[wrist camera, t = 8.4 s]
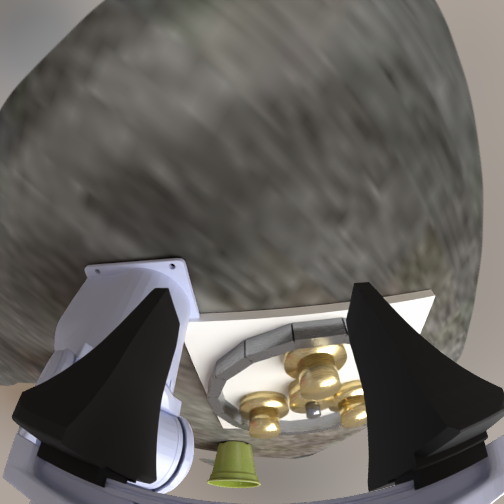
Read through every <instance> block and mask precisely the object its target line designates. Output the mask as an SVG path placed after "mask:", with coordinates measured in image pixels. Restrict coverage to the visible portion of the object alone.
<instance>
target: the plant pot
mask: <svg viewBox="0 0 504 504" xmlns="http://www.w3.org/2000/svg"><path fill="white" fill-rule="evenodd" d="M207 483H208V484H211V485H215V486H221V487H232V488H249V487H257V486H260V485H261V483H260V482H259V481H258V477H257V476H256V472H255V466H254V461H253V454H252V448H251V445H250V444H245V443H244V442H240V441H227V442H225V443H220V444H219V445H218V450H217V455H216V459H215V463H214V467H213V472H212V474H211V475H210V479H209V480H208V481H207Z"/></svg>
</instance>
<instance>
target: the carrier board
mask: <svg viewBox="0 0 504 504" xmlns="http://www.w3.org/2000/svg"><path fill="white" fill-rule="evenodd" d="M383 298H384V299H385V300H386V301H387V302H388V303H389V304H390V305H391V306H392V307H393V308H394V309H395V311H396V312H397V313H398V314H399V315H400V316H401V317H402V318H403V319H404V320H405V321H406V322H407V323H408V324H409V325H410V326H411V327H412V328H414V329H415V330H416V331H417V332H418V333H419V334H420V332H421V330H422V328H423V325H424V323H425V321H426V318H427V316H428V313H429V311H430V308H431V306H432V303H433V300H434V298H435V295H434V293H433V292H432V290H431V289H430V290H424V291H418V292H412V293H406V294H400V295H394V296H387V297H383ZM349 305H350V302H342V303H334V304H325V305H315V306H306V307H295V308H284V309H272V310H258V311H244V312H226V313H205V314H200V318H198V319H189V322H188V326H187V331H186V335H185V339H184V342H185V344H186V347H187V349H188V352H189V354H190V357H191V359H192V362H193V364H194V366H195V369H196V371H197V373H198V376H199V378H200V380H201V382H202V385H203V387H204V389H205V391H206V393H207V391H208V382H209V379H210V377H211V374H212V372H213V369H214V366H215V364H216V361H217V360H218V359H220V358H221V357H222V356H224V355H225V354H226V353H228V352H229V351H230V350H232V349H233V348H234V347H236V346H237V345H238V344H239V343H241V342H242V341H243V340H246V339H247V338H250V337H253V336H256V335H259V334H262V333H264V332H267V331H270V330H273V329H276V328H278V327H281V326H284V325H287V324H289V323H291V325H292V323H293V322H304V321H313V320H322V319H331V318H339V317H341V318H343V317H344V318H346V317H347V313H348V309H349ZM344 346H345V349H346V353H347V361H346V363H345V365H344V366H343V367H342V368H341V369H340V370H339V371H338V374H339V378H340V382H341V384H343V383H345V382H348V381H352V380H359V379H360V378H359V374H358V370H357V367H356V363H355V360H354V356H353V353H352V349H351V346H350V344H344ZM294 380H296V379H294V378H292V377H290V376H289V375H287V374H286V372H285V370H284V360H283V354H281V355H278V356H275V357H272V358H269V359H265V360H262V361H259V362H256V363H253V364H252V365H250V366H249V367H247V368H246V369H244V370H243V371H241V372H240V373H238V374H237V375H235V376H233V377H232V378H230V379H229V380H227V381H226V383H225V385H224V388H223V390H222V392H223V394H224V397H225V400H227V401H228V402H229V403H231V404H232V405H233V406H235V407H236V408H237V409H239V401H240V399H241V398H242V397H243V396H245V395H247V394H249V393H252V392H258V391H274V392H279V393H282V394H284V395H285V396H287V398H288V402H289V396H288V386H289V384H290V383H291V382H293V381H294ZM332 413H335V412H333V411H330V410H329V408H327V409H325V410H322V411H321V416H320V417H322V416H325V415H328V414H332ZM218 418H219V420H220V422H221V424H222V426H223V428H238V427H235V426H233V425H231V424H230V423H228V422H226V421H225V420H223V419H222V418H220V417H219V416H218ZM302 419H308V418H307V417H306V414H300V413H295V412H293V411H291V410H290V406H289V413H288V414H287V415H286V416H285V417H283V418H281V419H280V420H287V421H293V420H302Z"/></svg>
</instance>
